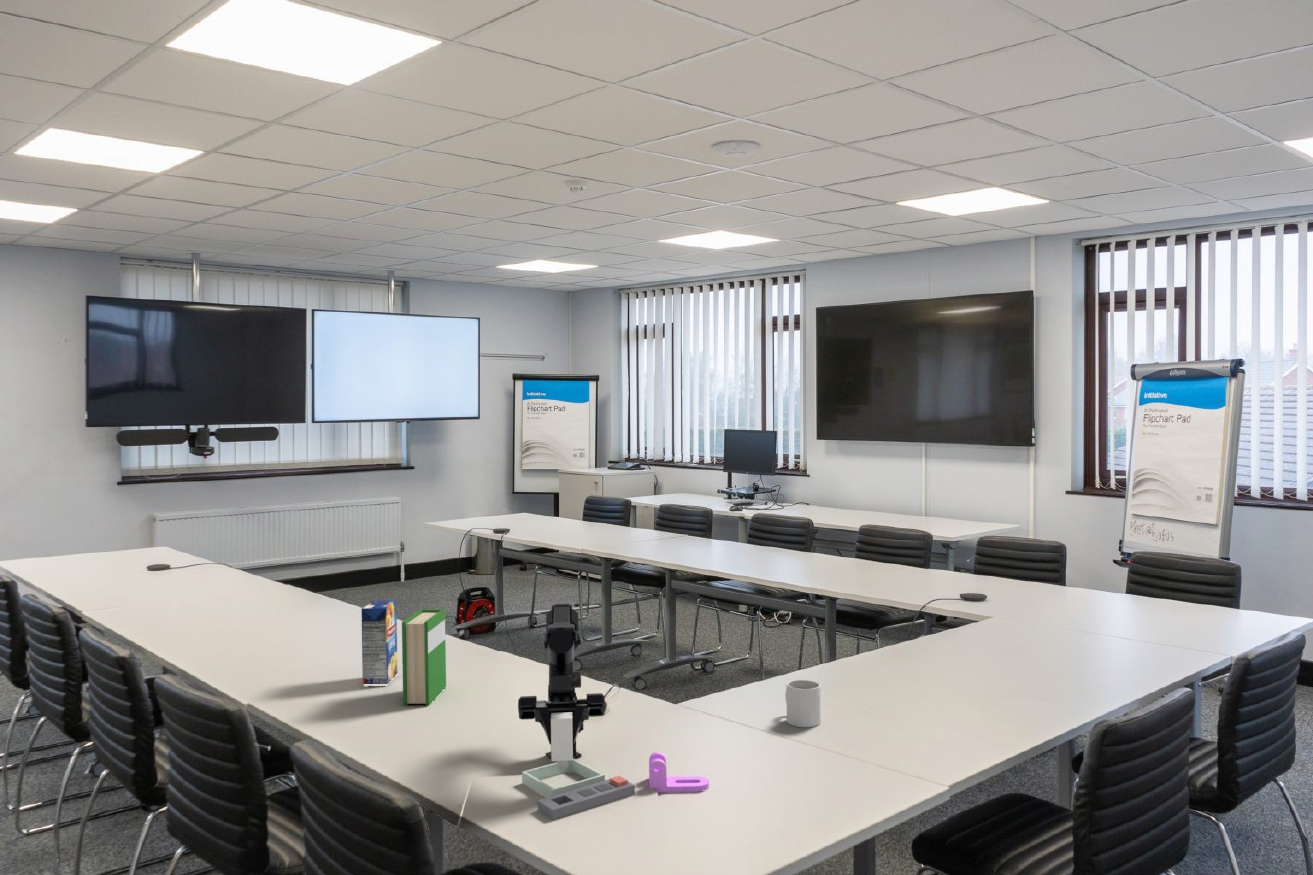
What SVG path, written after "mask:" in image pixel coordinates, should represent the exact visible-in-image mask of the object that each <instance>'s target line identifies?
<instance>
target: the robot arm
mask: <svg viewBox="0 0 1313 875" xmlns="http://www.w3.org/2000/svg"><path fill="white" fill-rule="evenodd" d="M572 607H573V606H572V604H570V603H555V604H552V605H551V609H550V610H549V611H547V613H546V614H545V632H544V638H543V639H544V641H543V645H544V649H547V652H548V655H547V656H548V686H547V687H548V688H547V700H544V699H543V700H537V695H523V696H520V697H519V698H517V700H518V701H517V711H518V718H519V719H520V720H522V721H523V720H534V723H540V725H541V727H542V729H543V731H544V733H545V734H544V735H545V736H546V738H547V741H548V744H549V745H550V746H551V713H564V712H572V731H573V759H577V758H581V757H582V756H583V755H582V753H580V752H578V751H577V738H578V735H579V734H580V733H582V731H584V722H585V721H588V720H589V719H590V718H591V717H592V718H593V717H603V716H605V714H606V713H605V708H606V698H605V697H606V696H605V694H603V693H602V692H601V693H600V692H599V693H598V692H597V693H595V692H594V693H586V699H582V700H581V699H578V696H577V693H576V688H577V689H578V688H579V689H580V688H582V671H575V651H576V648H579V646H581V645H582V644H581V640H582V639H581V635H580V634H579V632H580V630H579V626H580V625H579V624H580V623H579V612H577V611H576V610H575V609H574V608H572ZM545 756H546V757H548V758H549V759H551V751H548V752H545Z"/></svg>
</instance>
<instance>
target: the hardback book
mask: <svg viewBox="0 0 1313 875" xmlns="http://www.w3.org/2000/svg"><path fill="white" fill-rule="evenodd" d="M446 645H447V644H446V609H445V608H444V609H441V608H440V609H420V610H418V611H416V612H414V613H413V614H412V615H410V616H409V617H407V618H405V619H404V620H402V621H401V648H402V649H401V651H402V653H401V654H402V655H401V656H402V706H406V707H407V705H408V704H409V705H410V704H417V705H418V704H425V707H426V706H429V705H430V704H431V703H432V701H434V700H435V699H436V697H437V696H438V695H439V694H440V693H441V692H442V690H443V689H445V687H446V688H447V661H446V660H447V656H446V654H447V653H446V652H447V651H446V648H447V647H446ZM445 690H446V689H445ZM442 693H443V692H442ZM436 700H437V699H436ZM436 700H435V701H436ZM435 701H434V702H435ZM432 704H433V703H432ZM432 704H431V705H432ZM409 705H408V706H409ZM431 705H430V706H431ZM430 706H429V707H430Z"/></svg>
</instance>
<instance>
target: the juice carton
mask: <svg viewBox="0 0 1313 875" xmlns="http://www.w3.org/2000/svg"><path fill="white" fill-rule="evenodd" d="M397 614H398V613H397V600H372V601H370V602H369V603H367V604H366V605H365V606H363V607H362V608H361V653H362V654H361V656H362V657H361V658H362V659H361V660H362V661H361V662H362V665H361V666H362V685H363V684H388V683H389V682H390V681H391V679H392V678H394V677H395V675H396V674H397V673H398V626H397V625H398V624H397V620H398V618H397V617H398V616H397Z"/></svg>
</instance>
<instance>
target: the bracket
mask: <svg viewBox="0 0 1313 875" xmlns="http://www.w3.org/2000/svg"><path fill="white" fill-rule="evenodd" d="M666 758H667V757H666V755H665V754H664V753H663V752H661V751H655V752H653V753H651V754H650V756H649V759H648V766H649V767H648V771H649V772H648V778H649V779H648V780H649V781H648V786H649V787H648V788H649V789H656V791H657V792H656V793H658V792H666V793H698V792H697V791H702V792H704V791H703V790H706V789H707V790H709V789H708V788H710V780H709V778H707V777H705V776H698V775H697V776H695V775H694V776H690V775H688V776H686V775H685V776H683V775H682V776H668V775H667V759H666ZM707 790H706V791H707Z"/></svg>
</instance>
